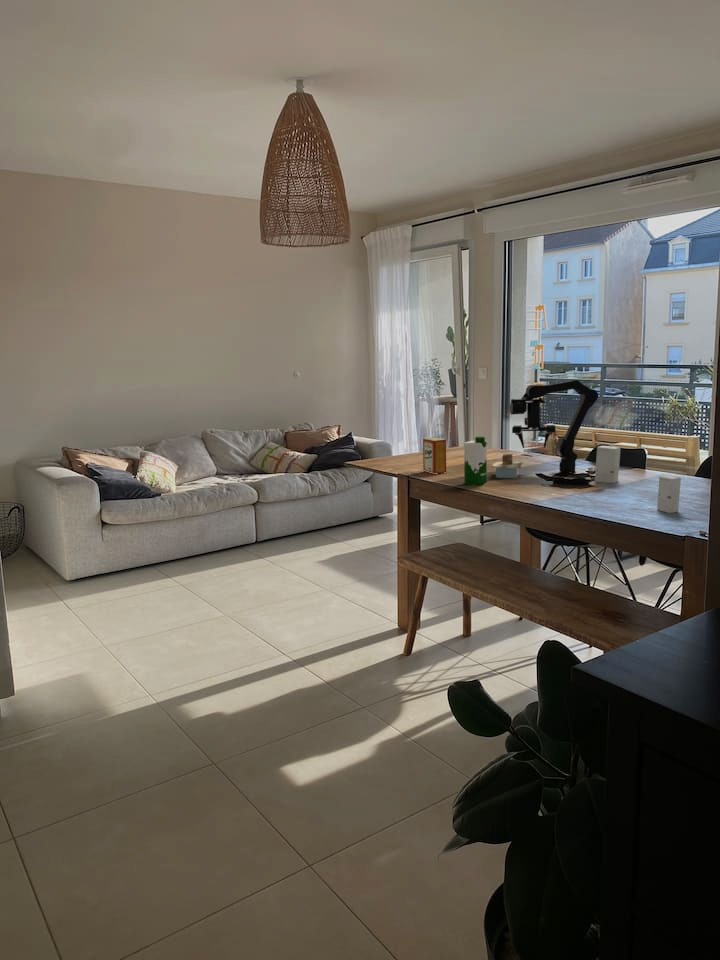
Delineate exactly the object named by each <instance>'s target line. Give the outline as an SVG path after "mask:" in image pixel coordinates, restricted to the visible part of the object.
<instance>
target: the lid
mask: <svg viewBox="0 0 720 960" xmlns="http://www.w3.org/2000/svg"><path fill="white" fill-rule="evenodd" d="M501 457H502V459H501V460H502V461H494V463H493V464H492V469H496V468H518V469H521V468H522V465H523V461H513V454H511V453H509V454H508V453H507V454H505V453H504V454H502V456H501Z"/></svg>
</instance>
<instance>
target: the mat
mask: <svg viewBox="0 0 720 960" xmlns="http://www.w3.org/2000/svg"><path fill="white" fill-rule="evenodd" d="M541 478H542V477H519V481H518V484H517V485H546V486H547V485H550V486H551V485H552V486H553V484H554V480H553V481H546V480H543V479H541Z"/></svg>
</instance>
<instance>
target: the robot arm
mask: <svg viewBox="0 0 720 960" xmlns="http://www.w3.org/2000/svg"><path fill="white" fill-rule="evenodd" d="M570 390H573V391H574V392H576V393H577V394H578V395H579V400H578V407H577V409H576V411H575V413H574V415H573V418H572V420H571V422H570V425H569V426H568V428H567V431H566V433H565V435H564V436H563V437H560V436H559V437H558V439H557V442H556V443H555V451H556V454H558V455H559V457H560V461H559V472H571V473H570V474H576V461H577V459H578V455H577V453H576V452H575V451H573V450H574V447H575V439H576V437H577V435H578V433H579V431H580V429H581V426H582V424H583V422H584V420H585V418H586V415H587V414H588V412H589V410H590V409H591V408H592V407H593V406H594V405H595V403H596V402H597V400H598V398H599V393H598V391H597V390H595V389H594V388H589V387H588V386H587V385H585V384H583V383H581V382H580V381H579V380H578V379H570V380H566V381H561V382H556V383H555V382H554V383H549V384H530V385H528V386H527V387H526V389H525V392H524V394H523V395H522V397H521V398H518V399H515V398H512V399H510V403H509V414H510V415H524V414H525V413H526V417H524V426H523V425H522V424H521V425H513V426H512V429H511V433H512V434H515V436H517V437H518V439H519V441H520V444H521V446H522V447H521V448H522V449H524V448H525V442H524V435H523V434H524V433H523V432H545V436H544V443H543V444H544V445H543V449H545V448H546V447H547V444H548V440H549V439H550V436H551V435H553V434H554V433H556V429H557V428H556V425H555V424H546V426H542V425H541V424H542V423H541V422H542V421H541V404H545V403H546V401H545V400H544V399H543V398H542V397H544V396H546V395H548V394H553V393H558V392H564V391H570Z"/></svg>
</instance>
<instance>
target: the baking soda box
mask: <svg viewBox="0 0 720 960" xmlns="http://www.w3.org/2000/svg"><path fill="white" fill-rule="evenodd" d="M422 460H423V464H422V465H423V466H422V468H423V469H422V470H426V471H429V472H433V473H443V474H445V473H444V472H446V473H447V439H445V438H439V437H428V438H426V437H425V438H422Z"/></svg>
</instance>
